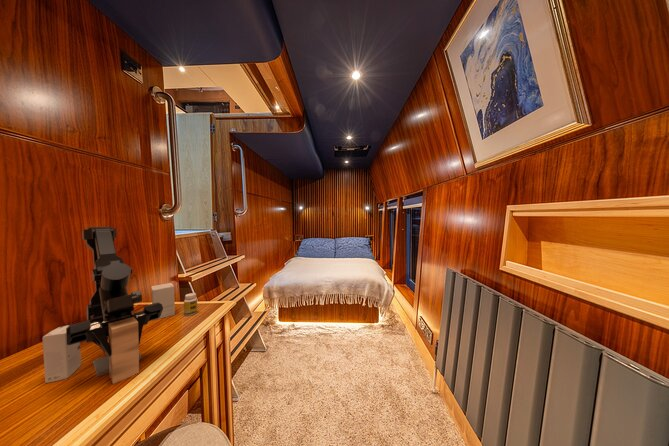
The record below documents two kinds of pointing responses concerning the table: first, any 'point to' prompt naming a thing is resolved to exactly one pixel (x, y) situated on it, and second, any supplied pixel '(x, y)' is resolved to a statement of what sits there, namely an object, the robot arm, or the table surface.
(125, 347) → the oak block
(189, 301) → the supplement bottle
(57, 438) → the table surface
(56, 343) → the skincare box
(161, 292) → the supplement box
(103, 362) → the slate coaster
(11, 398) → the table surface
